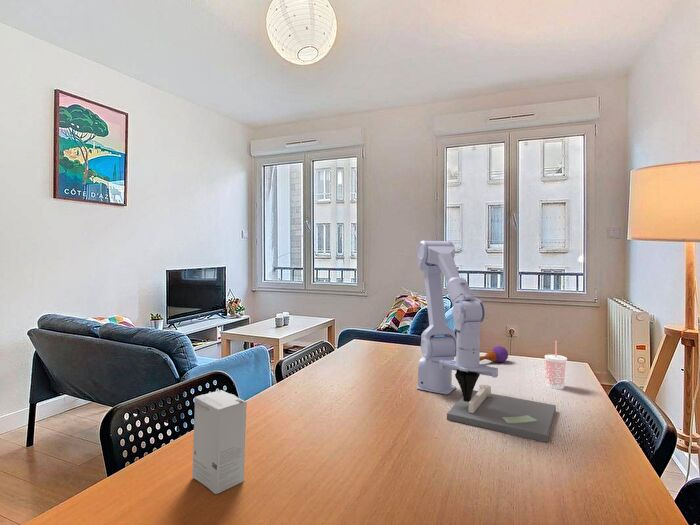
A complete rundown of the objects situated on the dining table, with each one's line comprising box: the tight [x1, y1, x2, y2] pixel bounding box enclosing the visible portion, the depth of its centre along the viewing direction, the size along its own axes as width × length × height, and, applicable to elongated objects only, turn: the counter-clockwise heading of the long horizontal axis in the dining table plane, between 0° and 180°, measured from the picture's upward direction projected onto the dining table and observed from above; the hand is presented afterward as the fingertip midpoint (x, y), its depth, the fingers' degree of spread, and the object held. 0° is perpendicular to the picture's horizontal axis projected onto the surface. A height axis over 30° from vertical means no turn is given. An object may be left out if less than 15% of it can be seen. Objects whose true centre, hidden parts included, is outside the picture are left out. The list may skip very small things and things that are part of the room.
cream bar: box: [468, 384, 492, 413], centre depth 106 cm, size 16×3×2 cm, turn 148°
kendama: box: [480, 345, 509, 363], centre depth 148 cm, size 6×6×20 cm
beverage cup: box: [544, 340, 568, 390], centre depth 123 cm, size 6×6×14 cm
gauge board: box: [446, 389, 557, 443], centre depth 102 cm, size 22×20×2 cm
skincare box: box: [191, 389, 248, 495], centre depth 73 cm, size 8×6×15 cm
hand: (467, 400), depth 105 cm, fingers closed
